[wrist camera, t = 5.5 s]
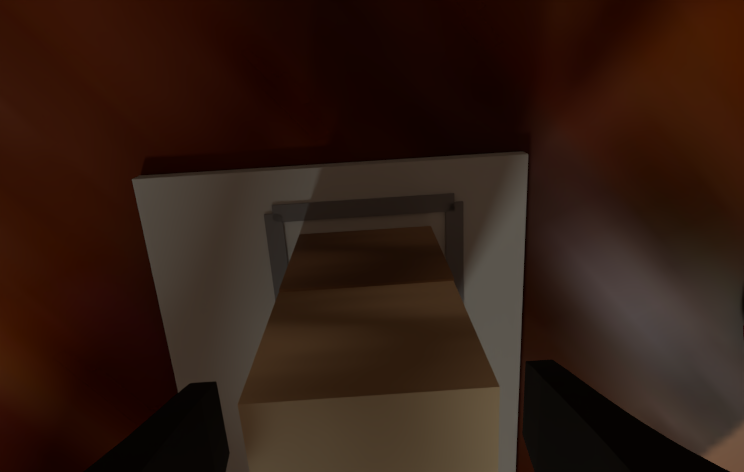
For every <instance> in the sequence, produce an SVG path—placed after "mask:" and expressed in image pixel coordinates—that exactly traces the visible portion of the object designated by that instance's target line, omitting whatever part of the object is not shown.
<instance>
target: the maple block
mask: <svg viewBox="0 0 744 472" xmlns="http://www.w3.org/2000/svg"><path fill="white" fill-rule="evenodd" d="M499 404H500V386H499V384H498V381H497V379H496V377H495V375H494V372H493V370H492V368H491V365H490V363H489V361H488V359H487V356H486V354H485V352H484V349H483V347H482V345H481V343H480V340H479V338H478V336H477V333H476V331H475V329H474V327H473V324H472V322H471V320H470V317H469V315H468V313H467V311H466V308H465V306H464V304H463V301H462V299H461V297H460V295H459V292H458V290H457V288H456V285H455V283H454V281H443V282H428V283H413V284H399V285H384V286H369V287H355V288H340V289H326V290H311V291H296V292H282V293H278V296H277V298H276V301H275V304H274V306H273V309H272V312H271V315H270V317H269V320H268V323H267V326H266V328H265V331H264V334H263V337H262V339H261V342H260V345H259V347H258V350H257V353H256V356H255V358H254V361H253V364H252V367H251V369H250V372H249V375H248V377H247V380H246V383H245V386H244V388H243V391H242V394H241V397H240V399H239V402H238V410H239V416H240V421H241V427H242V432H243V438H244V444H245V449H246V455H247V460H248V466H249V471H250V472H498V454H499Z"/></svg>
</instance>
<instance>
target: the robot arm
mask: <svg viewBox="0 0 744 472" xmlns="http://www.w3.org/2000/svg"><path fill="white" fill-rule="evenodd" d="M523 437H524V440H525V443H526V447H527V450H528V453H529V456H530V459H531V462H532V465H533V468H534V471H535V472H730V471H728V470H725V469H723V468H721V467H720V466H718V465H716V464H714V463H712V462H710V461H708V460H706V459H705V458H703V457H701V456H699V455H697V454H695V453H693V452H691V451H690V450H688V449H686V448H684V447H682V446H681V445H679V444H677V443H675V442H674V441H672V440H670V439H669V438H667V437H665V436H664V435H662V434H660V433H659V432H657V431H656V430H654V429H652V428H651V427H649V426H647V425H646V424H644V423H643V422H641V421H640V420H638V419H636V418H635V417H633V416H632V415H630V414H629V413H627V412H626V411H624V410H623V409H621V408H620V407H618V406H617V405H616V404H614V403H613V402H611V401H610V400H608V399H607V398H605V397H604V396H603V395H601V394H600V393H598V392H597V391H596V390H594V389H593V388H591V387H590V386H589V385H587V384H586V383H584V382H583V381H582V380H580V379H579V378H578V377H576V376H575V375H573V374H572V373H571V372H569V371H568V370H566V369H565V368H564V367H562V366H561V365H559V364H558V363H556V362H555V361H553V360H540V361H526V368H525V390H524V413H523ZM229 454H230V452H229V446H228V441H227V435H226V430H225V425H224V419H223V414H222V409H221V403H220V398H219V393H218V387H217V382H216V381H213V382H197V383H190V384H188V385H187V386H186V387H184V388H183V389H182V390H181V391H180V392H178V393H177V394H176V395H175V396H174V397H173V398H171V399H170V400H169V401H168V402H167V403H166V404H165V405H164V406H162V407H161V408H160V409H159V410H158V411H157V412H156V413H154V414H153V415H152V416H151V417H150V418H149V419H147V420H146V421H145V422H144V423H143V424H142V425H141V426H139V427H138V428H137V429H136V430H135V431H134V432H132V433H131V434H130V435H129V436H128V437H127V438H125V439H124V440H123V441H122V442H120V443H119V444H118V445H117V446H115V447H114V448H113V449H112V450H110V451H109V452H108V453H107V454H105V455H104V456H103V457H102V458H100V459H99V460H98V461H97V462H95V463H94V464H93V465H92V466H90V467H89V468H88V469H86V470H85V471H84V472H226V468H227V464H228V459H229Z"/></svg>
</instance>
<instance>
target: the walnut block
mask: <svg viewBox="0 0 744 472" xmlns="http://www.w3.org/2000/svg"><path fill="white" fill-rule="evenodd" d="M443 281H454V277H453V275H452V272H451V270H450V268H449V266H448V263H447V261H446V259H445V257H444V254H443V252H442V250H441V248H440V245H439V243H438V241H437V239H436V236H435V234H434V232H433V230H432V227H431V226H422V227H406V228H390V229H375V230H359V231H343V232H328V233H312V234H299V237H298V239H297V242H296V245H295V248H294V250H293V253H292V256H291V258H290V261H289V264H288V266H287V269H286V272H285V275H284V277H283V280H282V283H281V285H280V288H279V293H282V292H296V291H311V290H326V289H340V288H355V287H369V286H384V285H399V284H413V283H428V282H443Z"/></svg>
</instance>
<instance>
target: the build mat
mask: <svg viewBox="0 0 744 472" xmlns="http://www.w3.org/2000/svg"><path fill="white" fill-rule="evenodd" d="M527 175H528V154H527V153H525V152H523V151H519V152H503V153H488V154H472V155H456V156H441V157H425V158H409V159H393V160H378V161H362V162H346V163H331V164H315V165H299V166H284V167H268V168H252V169H236V170H221V171H205V172H189V173H174V174H158V175H142V176H138V177H136V178H134V179H132V182H133V187H134V191H135V196H136V201H137V205H138V210H139V214H140V219H141V224H142V228H143V233H144V237H145V242H146V247H147V251H148V256H149V260H150V265H151V270H152V274H153V279H154V283H155V288H156V293H157V297H158V302H159V306H160V311H161V316H162V320H163V325H164V329H165V334H166V339H167V343H168V348H169V352H170V357H171V362H172V366H173V371H174V375H175V380H176V385H177V389H178V392H180V391H181V390H182V389H183V388H184V387H186V386H187V385H188V384H190V383H197V382H213V381H216V382H217V387H218V393H219V398H220V403H221V409H222V414H223V419H224V425H225V430H226V435H227V441H228V446H229V452H230V454H229V459H228V464H227V468H226V472H250V471H249V466H248V460H247V455H246V449H245V444H244V438H243V432H242V427H241V421H240V416H239V410H238V402H239V399H240V397H241V394H242V391H243V388H244V386H245V383H246V380H247V377H248V375H249V372H250V369H251V367H252V364H253V361H254V358H255V356H256V353H257V350H258V347H259V345H260V342H261V339H262V337H263V334H264V331H265V328H266V326H267V323H268V320H269V317H270V315H271V312H272V309H273V306H274V304H275V301H276V298H277V296H278V293H279V288H280V285H281V283H282V280H283V277H284V275H285V272H286V269H287V266H288V264H289V261H290V258H291V256H292V253H293V250H294V248H295V245H296V242H297V239H298V237H299V234H312V233H328V232H343V231H359V230H375V229H390V228H406V227H422V226H431V227H432V230H433V232H434V234H435V236H436V239H437V241H438V243H439V245H440V248H441V250H442V252H443V254H444V257H445V259H446V261H447V263H448V266H449V268H450V270H451V272H452V275H453V277H454V283H455V285H456V288H457V290H458V292H459V295H460V297H461V299H462V301H463V304H464V306H465V308H466V311H467V313H468V315H469V317H470V320H471V322H472V324H473V327H474V329H475V331H476V333H477V336H478V338H479V340H480V343H481V345H482V347H483V349H484V352H485V354H486V356H487V359H488V361H489V363H490V365H491V368H492V370H493V372H494V375H495V377H496V379H497V381H498V384H499V386H500V404H499V454H498V472H516V449H517V424H518V400H519V375H520V350H521V325H522V300H523V275H524V250H525V225H526V200H527Z"/></svg>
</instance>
